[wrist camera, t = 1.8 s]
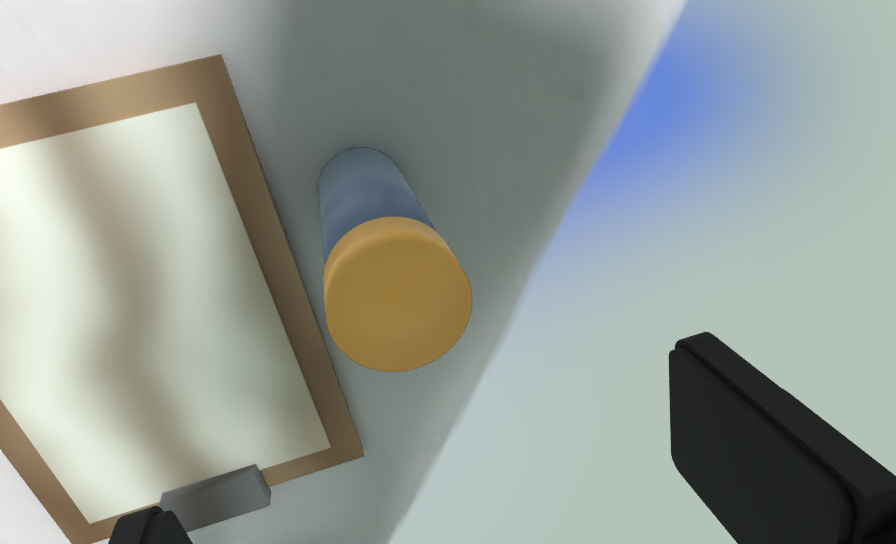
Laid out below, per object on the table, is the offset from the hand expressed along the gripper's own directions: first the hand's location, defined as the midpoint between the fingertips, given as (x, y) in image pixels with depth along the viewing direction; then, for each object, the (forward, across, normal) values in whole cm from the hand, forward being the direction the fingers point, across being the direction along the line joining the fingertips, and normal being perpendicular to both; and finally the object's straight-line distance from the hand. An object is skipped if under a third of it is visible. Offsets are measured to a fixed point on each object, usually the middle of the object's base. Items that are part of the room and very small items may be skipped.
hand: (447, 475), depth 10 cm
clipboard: (+18, +12, +4) cm, 22 cm away
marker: (+18, 0, 0) cm, 18 cm away
